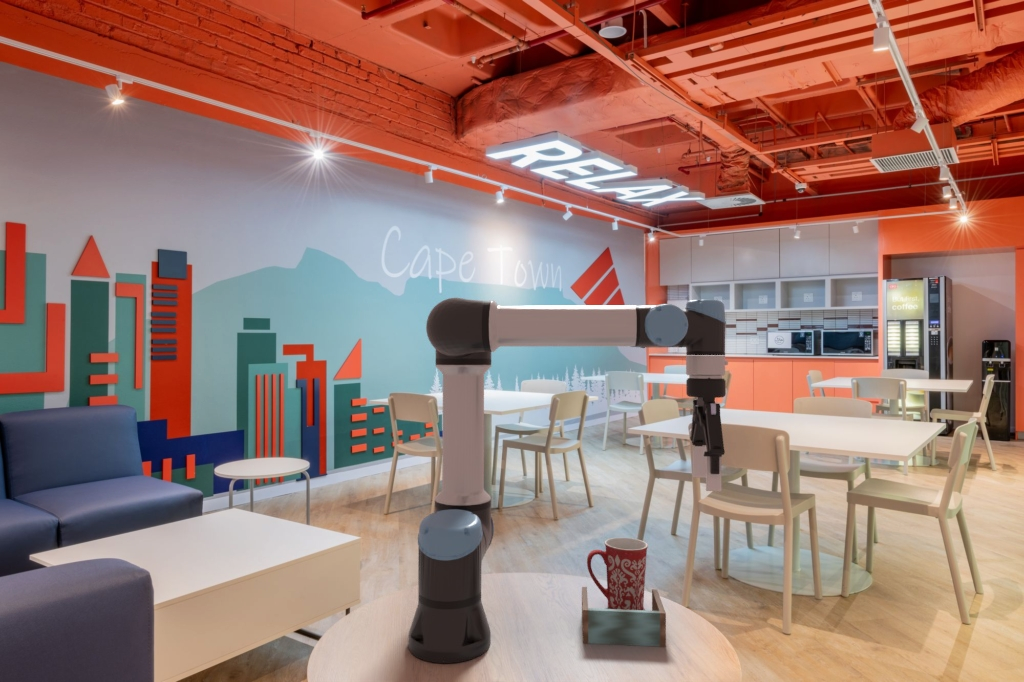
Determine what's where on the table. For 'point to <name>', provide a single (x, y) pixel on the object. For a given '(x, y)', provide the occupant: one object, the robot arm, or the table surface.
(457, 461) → the robot arm
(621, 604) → the mug
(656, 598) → the dock
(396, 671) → the table surface
